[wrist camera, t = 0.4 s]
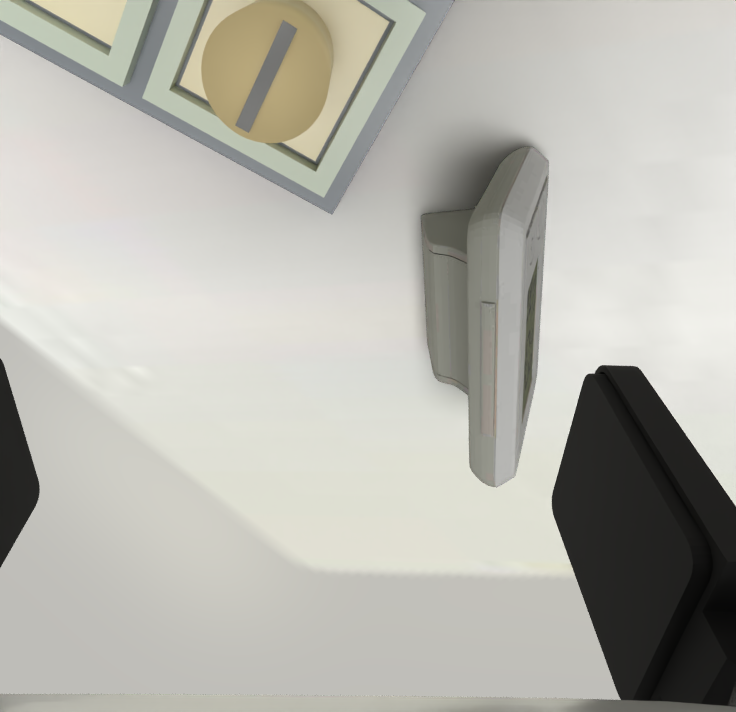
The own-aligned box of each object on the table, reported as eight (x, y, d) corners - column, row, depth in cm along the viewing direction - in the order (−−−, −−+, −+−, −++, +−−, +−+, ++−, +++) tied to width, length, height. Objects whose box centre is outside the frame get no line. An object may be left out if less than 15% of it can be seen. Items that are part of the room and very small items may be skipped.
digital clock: (525, 387, 44) (569, 500, 35) (395, 377, 43) (406, 489, 34) (595, 148, 35) (677, 216, 26) (433, 130, 35) (461, 194, 26)
